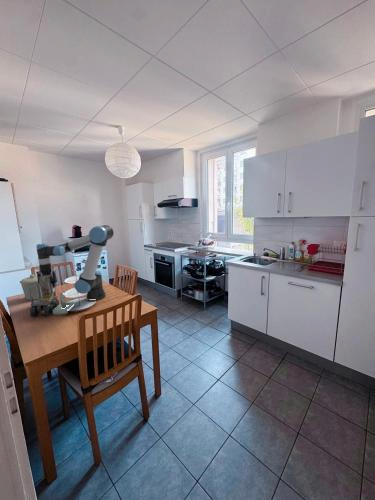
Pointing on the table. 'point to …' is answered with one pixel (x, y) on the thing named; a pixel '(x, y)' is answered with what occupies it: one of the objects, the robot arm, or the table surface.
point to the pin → (62, 300)
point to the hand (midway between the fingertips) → (49, 291)
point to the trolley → (42, 303)
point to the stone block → (46, 285)
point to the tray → (62, 311)
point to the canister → (29, 282)
